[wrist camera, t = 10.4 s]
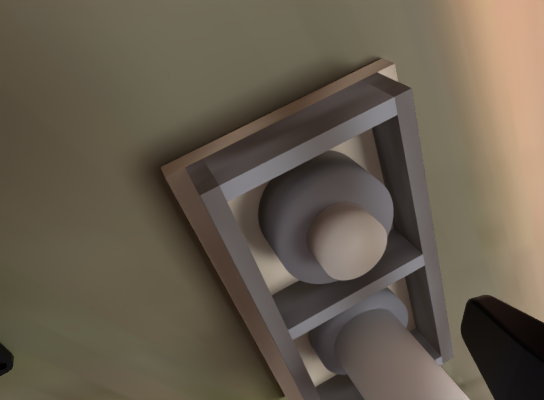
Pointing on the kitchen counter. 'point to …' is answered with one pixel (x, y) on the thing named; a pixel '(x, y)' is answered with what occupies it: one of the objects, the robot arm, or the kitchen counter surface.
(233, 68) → the kitchen counter surface
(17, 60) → the kitchen counter surface
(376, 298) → the white bulb
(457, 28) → the kitchen counter surface
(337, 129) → the grey compartment tray
